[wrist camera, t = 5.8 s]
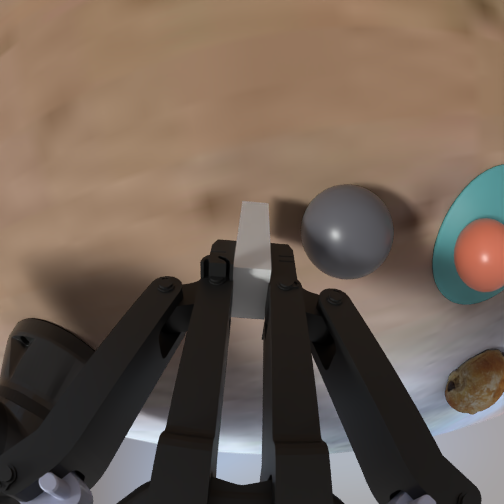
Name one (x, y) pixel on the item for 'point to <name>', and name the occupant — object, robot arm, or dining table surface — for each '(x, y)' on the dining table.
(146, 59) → the dining table surface
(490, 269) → the red ball
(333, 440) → the dining table surface
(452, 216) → the teal mark
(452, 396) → the bread roll
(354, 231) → the gray ball
